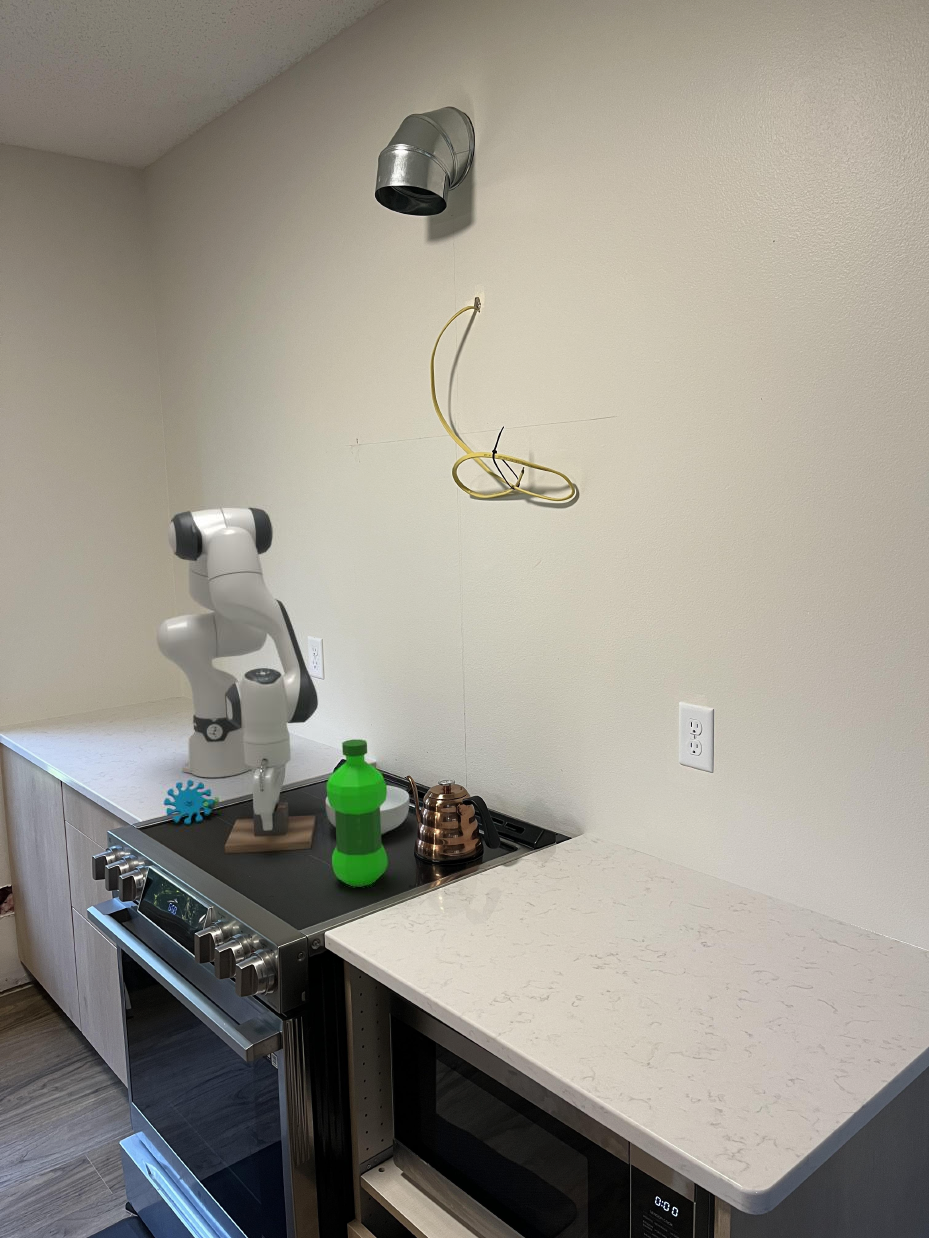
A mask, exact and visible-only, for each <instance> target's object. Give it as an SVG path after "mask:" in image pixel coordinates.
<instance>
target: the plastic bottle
mask: <svg viewBox="0 0 929 1238" xmlns="http://www.w3.org/2000/svg"><path fill="white" fill-rule="evenodd" d="M341 744H342V746H341V748H342V749H341V750H342V755H343V756H345V762H344V763H343V764H342V765H341V766H339V767H338V768H337V769H336V770H335V771H334V772H333V773H332V774H331V775H330V776H329V777H328V780H327V781H326V785H325V787H326V795H327V796H328V800H329V804H330V806H331V807H332V808H333V809H334V810H335V821H336V827H335V836H336V845H335V848H334V849H333V853H332V855H331V864H332V868H333V869H332V870H333V873H334V874H335V877H336V878H338V879H339V880H340V881H341V882H343V883H345V884H349V885H351V886H363V885H369V884H372V883H373V882H374V883H376V881H377V880H378V879H379V878H380V877H381V876H382V875H383V874H384V873H385V871H386V870H387V868H388V856H387V853H386V849H385V848H384V845H383V844H382V835H381V821H380V806H381V805H382V804H383V803H384V802H385V800H386V795H387V786H386V785H387V783H386V781H385V779H384V776H383V774H382V772H380V771H379V770H378V769H377V768H375V767H374V766H373V765H372V764H370V763H368V762H367V761H365V755H366V754H368V742H367V740H364V739H348V740H345V741H343V742H341ZM327 796H326V797H327ZM374 883H373V884H374ZM373 884H372V885H373ZM351 886H350V887H351Z"/></svg>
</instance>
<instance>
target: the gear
mask: <svg viewBox="0 0 929 1238" xmlns="http://www.w3.org/2000/svg"><path fill="white" fill-rule="evenodd" d="M194 783H195V782H194V780H191V779H188V780H187V783H186V788H185V789H183V790H182V788H183V782H182V781H180V782H176V784H175V787H176V789H177V790H178V794H175V793H174V792H175V790H174V789H173V788H169V789H168V790H167V793H166V794H167V796H170V797H172V798H173V800H174V801H171V800H170V798H168V797H166V798H165V799H164V801H163V805H164V806H172V807H173V808H174V809H173V808H170V807H167V808H166V809H165V811H166V812H165V813H166V815H167V816H171V815H172V814H176V813H180V814H178V815H177V814H176V815H173V821H174V822H175V823H176V824H177V823H179V822H180V820H181V819H182V818H183V817H186V816H188V817H186V818H185V819H184V822H183V824H184V825H187V826H189V825H191V823H192V820H191V819H192V817H193V816H194V815H196V817H195V822H196V823H201V822H202V821H203V816H202V815H201V814H200V811H202V810H203V811H204V812H203V813H204V816H205V817H206V816H209V815H210V814H211V813H212V812H213V810H214V809H215V807H216V805H218V804H219V802H220V799H219V796H218V797H214V798H205V797H203V796H206V797H211V796H212V790H211V789H210V788H208V789H206V790H204V791H198V790H203V789H204V788H205V784H204V783H203V782H202V781H200V782H198V784H197V785H196V786H195V787H194V788H191V787H193V786H194V785H195V784H194Z"/></svg>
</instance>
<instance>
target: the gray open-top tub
mask: <svg viewBox="0 0 929 1238" xmlns="http://www.w3.org/2000/svg"><path fill="white" fill-rule="evenodd" d="M288 805H289V803H288V802H287V801H286V802H285V801H283V802H279V803H276V806H275V809H274V810H276V812H273V813H272V819H273V828H272V830H266V831H265V830H264V829H263V822H262V818H261V814H260V815H257V814H255V812H254V811H253V814H252V817H253V818H252V819H253V822H254V836H273V835H286V832H287V828H288V825H289V817H290V816H289V806H288Z"/></svg>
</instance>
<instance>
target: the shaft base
mask: <svg viewBox="0 0 929 1238" xmlns="http://www.w3.org/2000/svg"><path fill="white" fill-rule="evenodd" d="M288 817H289V825H288V828H287V832H286V835H273V836H254V822H253V818H243V819H242V818H241V819H239V818H238V819H236V820H235V822H234V825H233V827H232V830H231V831H230V834H229V836H228V838H227V840H226V843H225V844H224V853H225V854H241V853H258V852H259V853H260V852H276V851H280V852H281V851H293V850H294V851H295V850H296V851H297V850H310V849H311V847H312V842H313V837H314V833H315V830H316V829H315V828H316V823H317V821H316V820H317V819H316V815H299V816H298V815H297V816H296V815H295V816H288Z"/></svg>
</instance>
